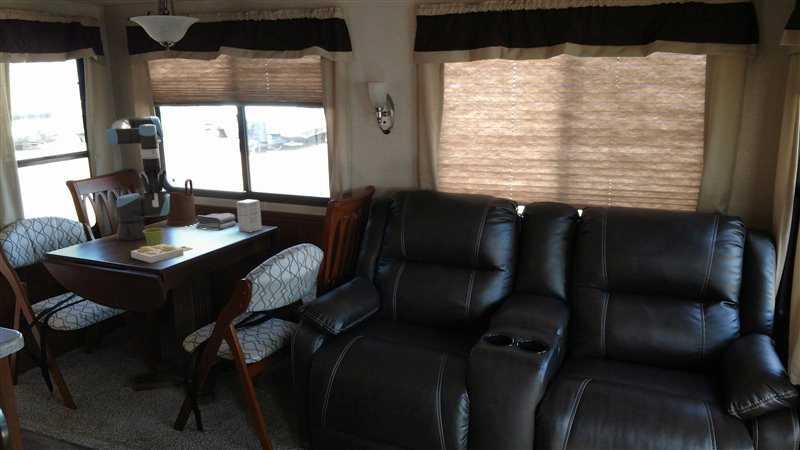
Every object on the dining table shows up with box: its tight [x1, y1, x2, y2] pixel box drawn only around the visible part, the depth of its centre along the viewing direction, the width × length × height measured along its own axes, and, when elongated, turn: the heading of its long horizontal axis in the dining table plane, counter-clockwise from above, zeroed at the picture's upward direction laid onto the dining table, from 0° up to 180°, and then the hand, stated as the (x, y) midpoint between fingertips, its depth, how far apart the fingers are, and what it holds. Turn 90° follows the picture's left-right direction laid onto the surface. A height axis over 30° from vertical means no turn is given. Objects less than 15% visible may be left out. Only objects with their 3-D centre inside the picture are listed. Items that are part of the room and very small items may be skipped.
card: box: [178, 246, 194, 252], centre depth 301 cm, size 7×7×1 cm
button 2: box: [148, 251, 160, 255], centre depth 284 cm, size 5×5×3 cm
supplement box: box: [236, 198, 263, 233], centre depth 339 cm, size 10×9×17 cm
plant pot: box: [143, 227, 164, 247], centre depth 306 cm, size 9×9×9 cm
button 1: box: [139, 245, 151, 253], centre depth 288 cm, size 5×5×3 cm
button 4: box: [163, 244, 175, 252], centre depth 289 cm, size 5×5×3 cm
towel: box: [195, 212, 237, 230], centre depth 350 cm, size 15×18×8 cm
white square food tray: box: [130, 243, 184, 264], centre depth 289 cm, size 17×17×3 cm
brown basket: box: [165, 178, 199, 228], centre depth 359 cm, size 18×24×25 cm
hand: (155, 206), depth 290 cm, fingers closed
